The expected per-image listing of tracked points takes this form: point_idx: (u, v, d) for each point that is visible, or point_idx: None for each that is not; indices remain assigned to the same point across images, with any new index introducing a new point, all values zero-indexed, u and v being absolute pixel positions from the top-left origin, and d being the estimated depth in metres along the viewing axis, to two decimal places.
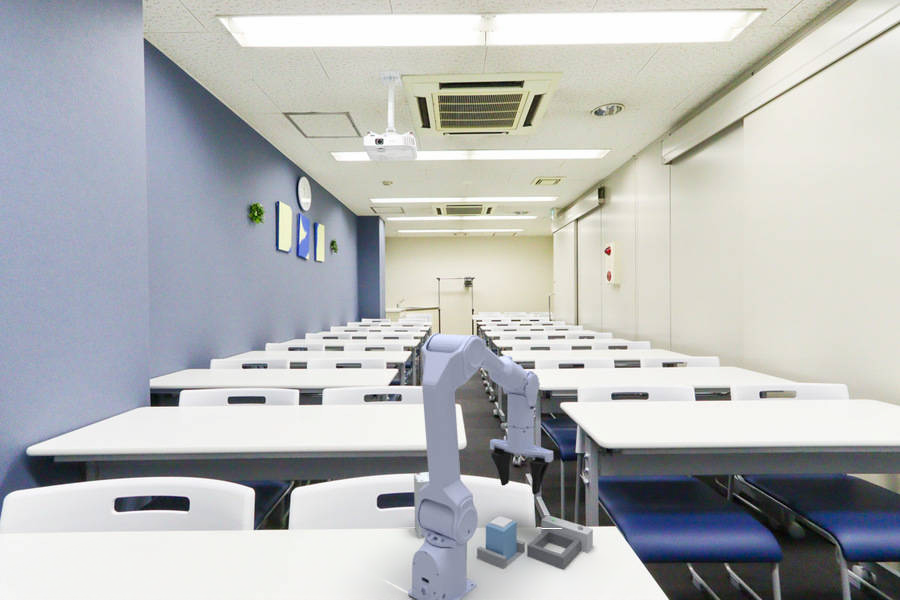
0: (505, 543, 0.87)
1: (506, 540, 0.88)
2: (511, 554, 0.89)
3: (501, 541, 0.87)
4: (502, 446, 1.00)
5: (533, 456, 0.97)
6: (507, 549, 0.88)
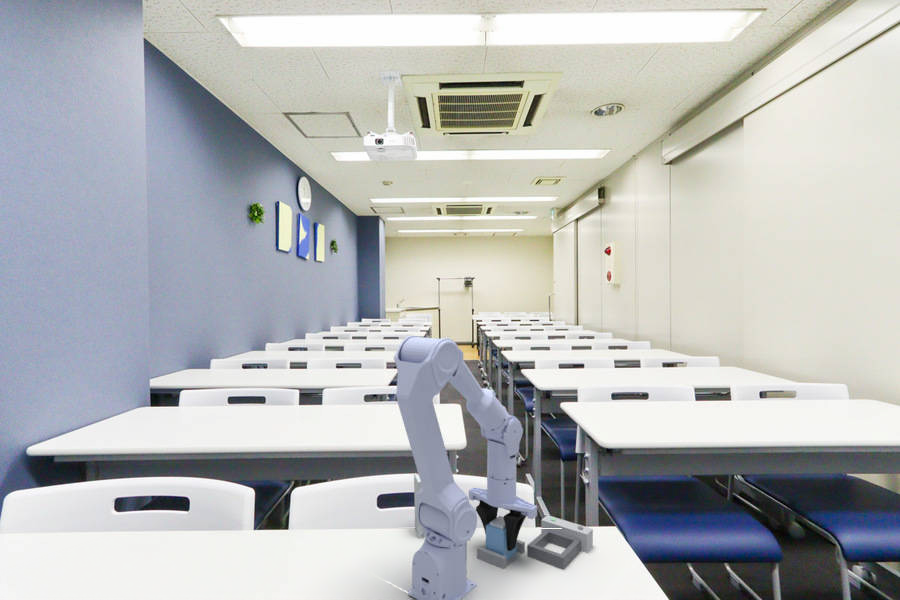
0: (505, 543, 0.87)
1: (506, 540, 0.88)
2: (511, 554, 0.89)
3: (501, 541, 0.87)
4: (481, 498, 0.90)
5: (515, 510, 0.88)
6: None
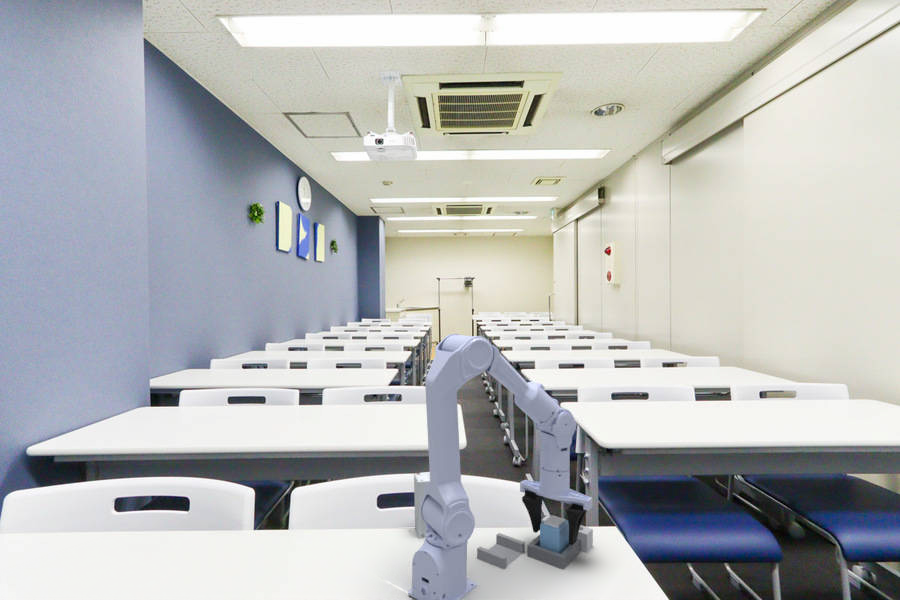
0: (560, 542, 0.88)
1: (561, 539, 0.88)
2: None
3: (557, 541, 0.88)
4: (534, 490, 0.91)
5: (569, 502, 0.88)
6: (562, 548, 0.89)
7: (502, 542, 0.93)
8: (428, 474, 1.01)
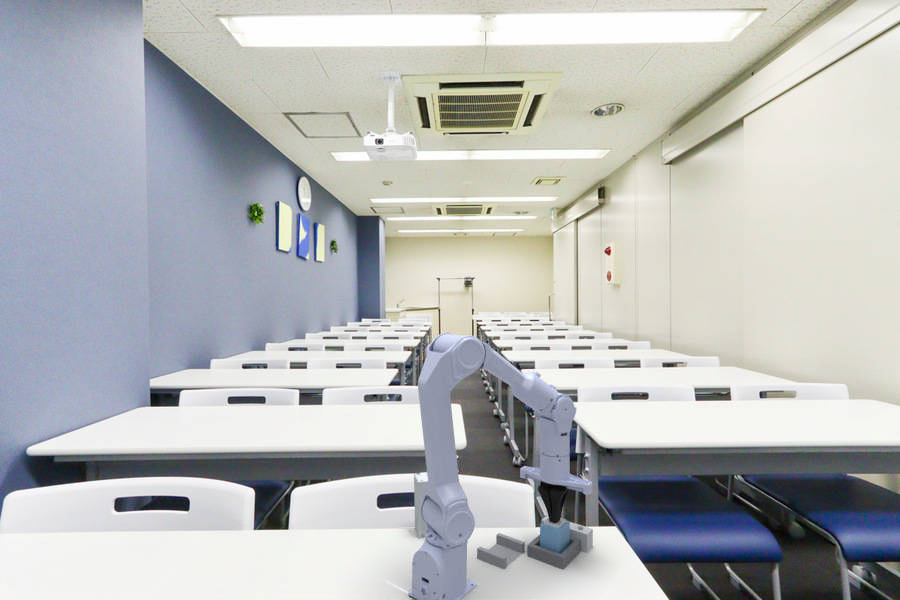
0: (560, 542, 0.88)
1: (561, 539, 0.88)
2: None
3: (557, 541, 0.88)
4: (534, 475, 0.91)
5: (569, 487, 0.88)
6: (562, 548, 0.89)
7: (502, 542, 0.93)
8: None
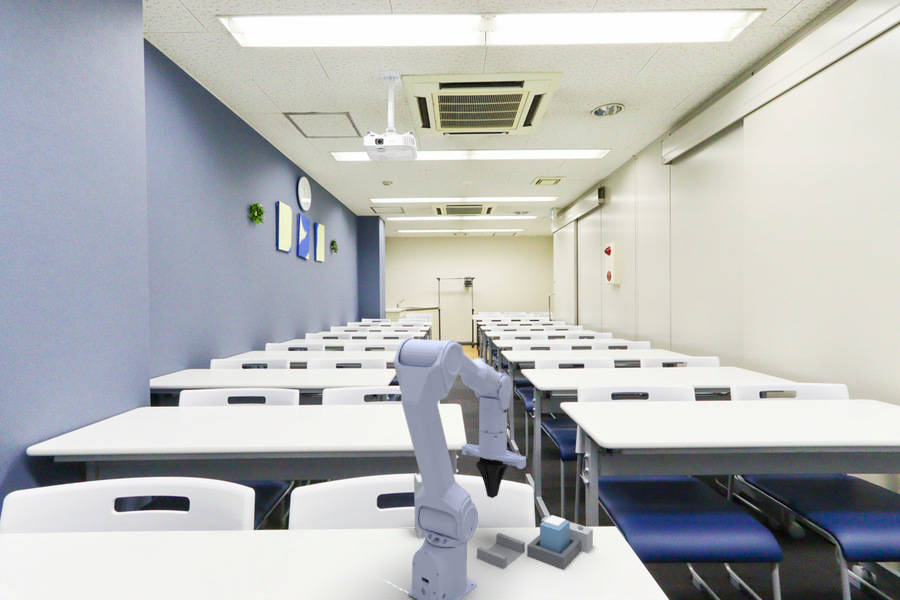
0: (560, 542, 0.88)
1: (561, 539, 0.88)
2: None
3: (557, 541, 0.88)
4: (474, 452, 0.95)
5: (505, 462, 0.93)
6: (562, 548, 0.89)
7: (502, 542, 0.93)
8: None
